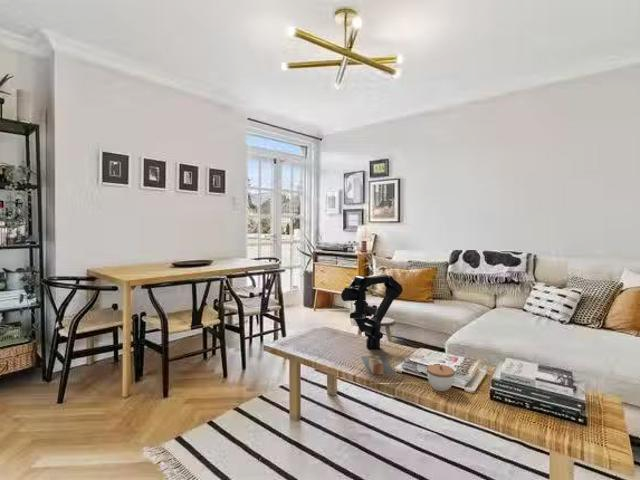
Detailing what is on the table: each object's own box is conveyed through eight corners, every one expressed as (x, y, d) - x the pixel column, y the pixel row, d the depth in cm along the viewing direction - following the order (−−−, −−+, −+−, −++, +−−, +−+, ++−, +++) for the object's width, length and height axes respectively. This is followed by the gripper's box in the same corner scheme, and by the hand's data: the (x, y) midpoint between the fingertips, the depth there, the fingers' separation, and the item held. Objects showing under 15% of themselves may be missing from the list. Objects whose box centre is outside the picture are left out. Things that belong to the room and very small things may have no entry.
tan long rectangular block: (378, 355, 171) (383, 364, 162) (378, 365, 172) (383, 374, 162) (368, 356, 171) (373, 364, 161) (368, 365, 171) (373, 374, 161)
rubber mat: (384, 356, 183) (384, 355, 183) (395, 373, 163) (395, 372, 163) (360, 357, 183) (360, 356, 183) (368, 374, 163) (368, 373, 163)
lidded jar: (435, 379, 158) (435, 358, 157) (459, 388, 150) (459, 365, 150) (421, 387, 151) (422, 365, 150) (445, 396, 143) (446, 373, 142)
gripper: (370, 300, 176) (372, 333, 173) (380, 299, 192) (382, 330, 190) (348, 301, 180) (350, 333, 177) (360, 300, 197) (361, 330, 194)
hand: (362, 332), depth 185 cm, fingers closed
